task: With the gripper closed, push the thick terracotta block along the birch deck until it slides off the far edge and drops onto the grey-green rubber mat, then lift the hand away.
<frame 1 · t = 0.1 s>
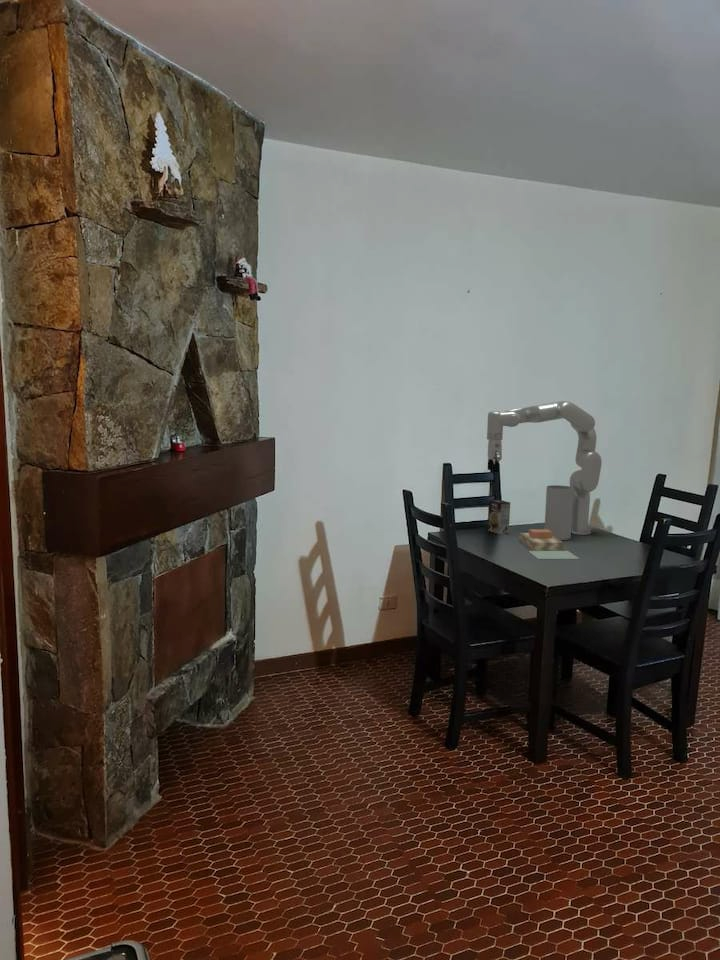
hand: (493, 471, 346), 31 cm above the table, tool pointing down, fingers open, 9 cm apart
deck: (540, 546, 323), on the table
cylinder vase: (557, 538, 341), on the table
coffee box: (498, 533, 351), on the table
mat: (553, 555, 306), on the table
thick terracotta block: (540, 533, 323), point 5 cm above the table, touching deck
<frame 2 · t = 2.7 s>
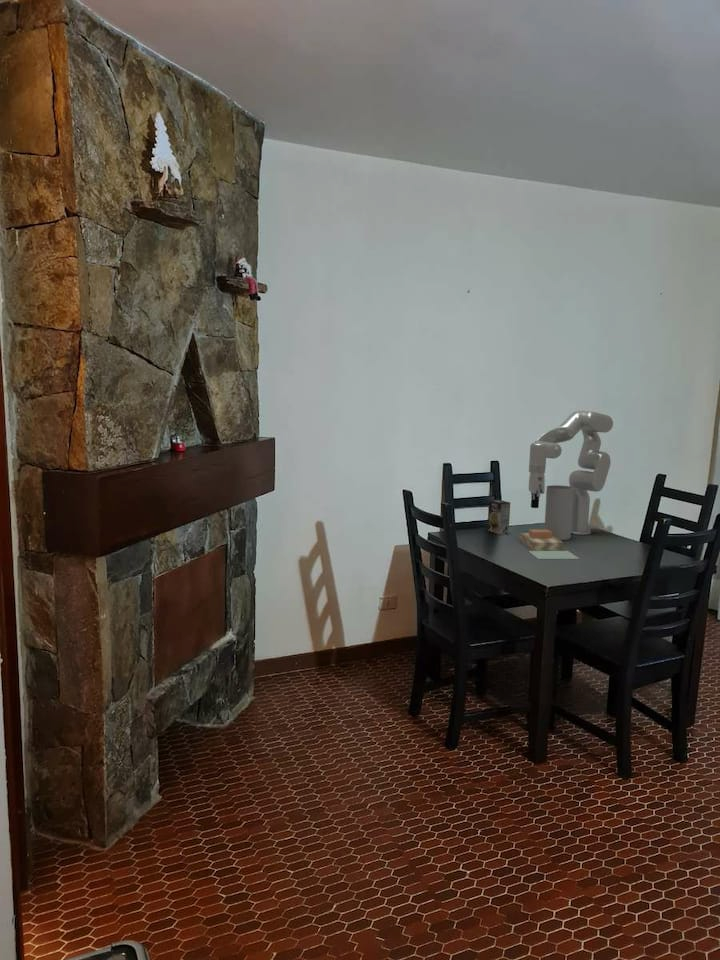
hand: (534, 507, 330), 16 cm above the table, tool pointing down, fingers closed
nothing on the table moved.
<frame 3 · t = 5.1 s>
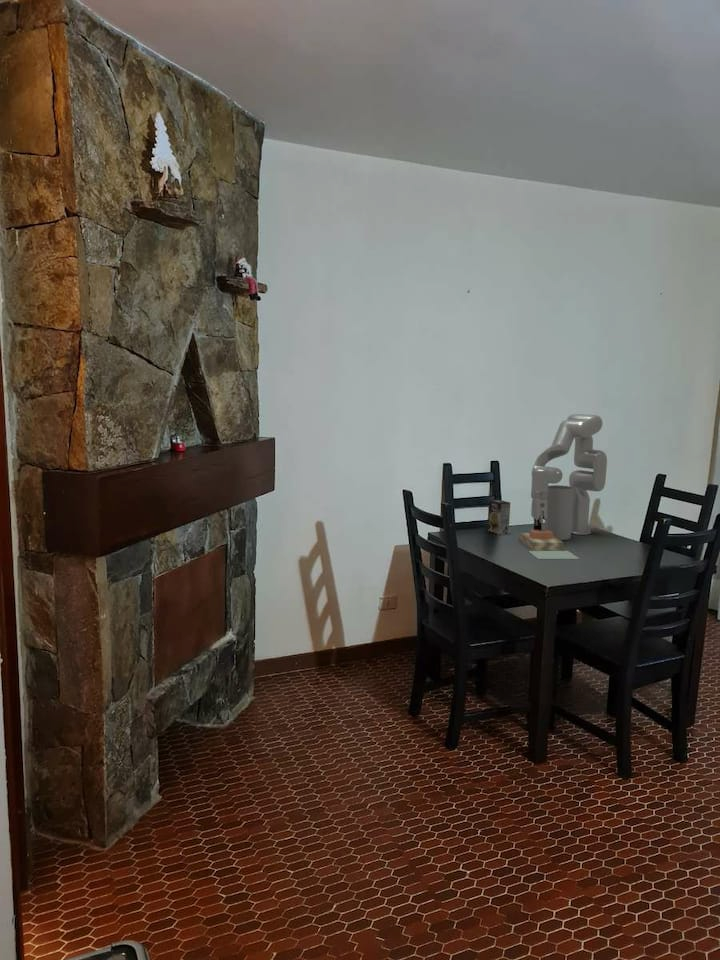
hand: (537, 533, 327), 5 cm above the table, tool pointing down, fingers closed
thick terracotta block: (540, 534, 322), point 6 cm above the table, touching gripper
everything else where it was.
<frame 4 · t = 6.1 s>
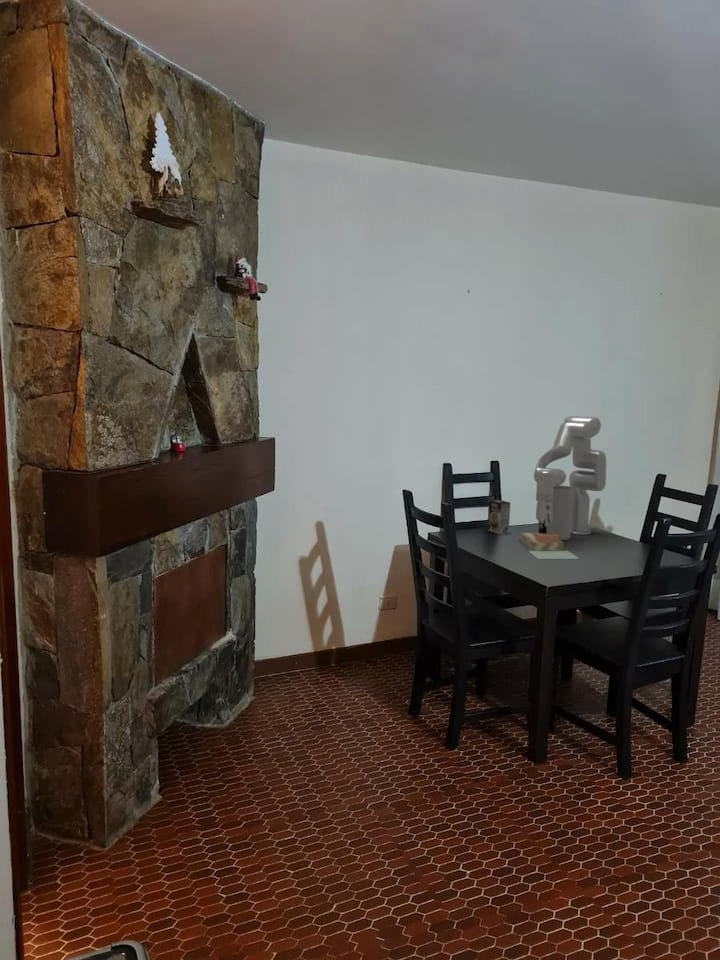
hand: (542, 536, 320), 5 cm above the table, tool pointing down, fingers closed
thick terracotta block: (547, 537, 315), point 5 cm above the table, touching deck, gripper
everything else where it was.
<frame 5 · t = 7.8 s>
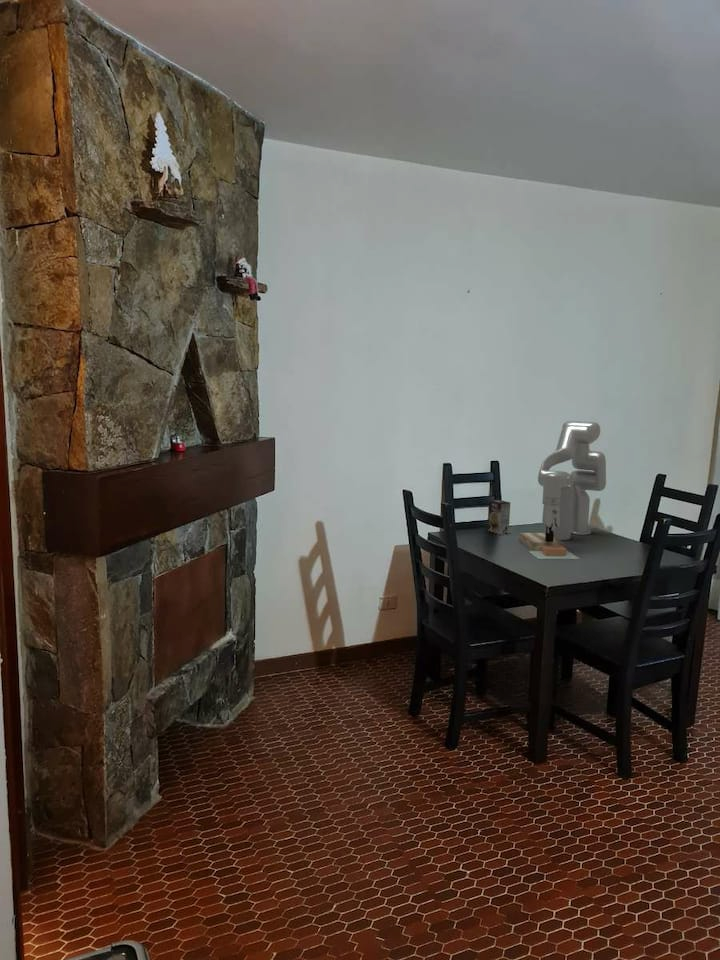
hand: (549, 541, 311), 5 cm above the table, tool pointing down, fingers closed
thick terracotta block: (553, 550, 307), point 2 cm above the table, tilted 180°, touching mat
everything else where it was.
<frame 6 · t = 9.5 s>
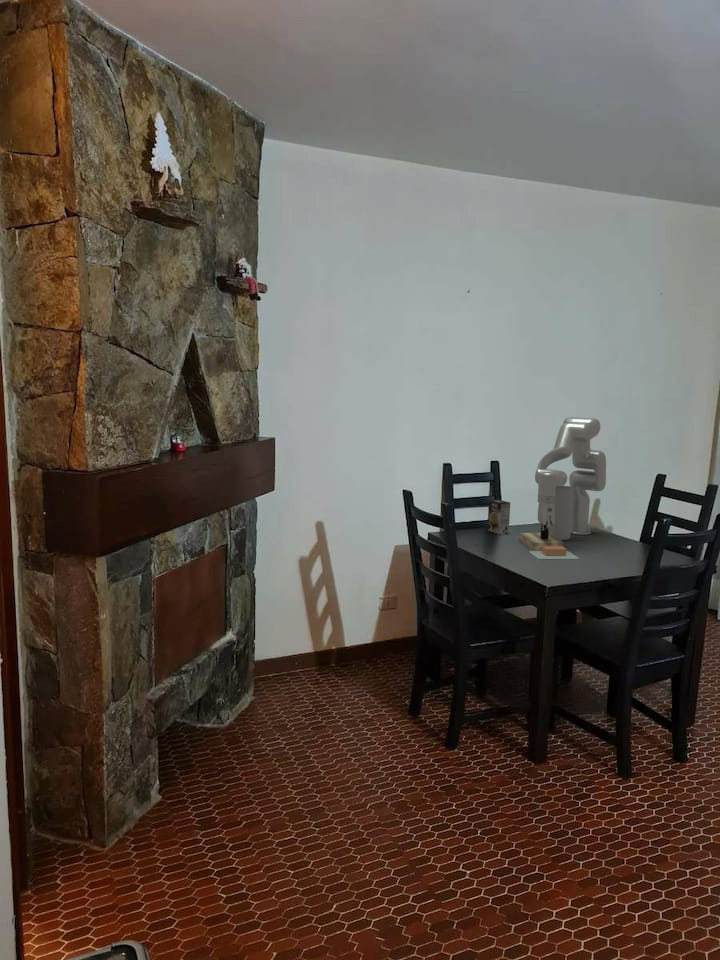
hand: (544, 538, 318), 4 cm above the table, tool pointing down, fingers closed
nothing on the table moved.
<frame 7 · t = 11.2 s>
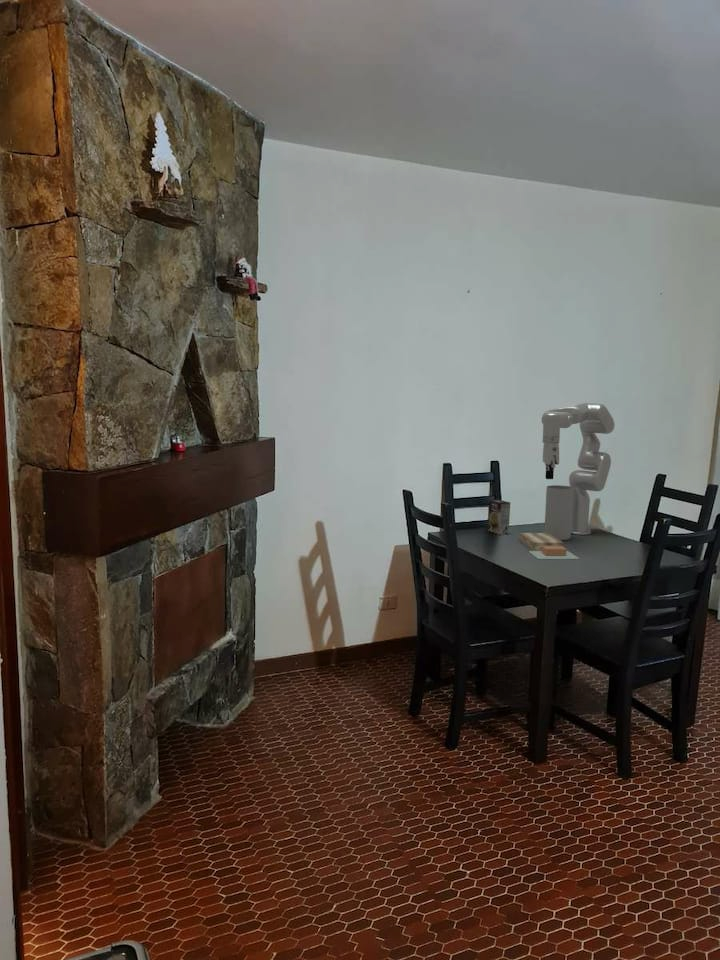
hand: (549, 478, 326), 30 cm above the table, tool pointing down, fingers closed
nothing on the table moved.
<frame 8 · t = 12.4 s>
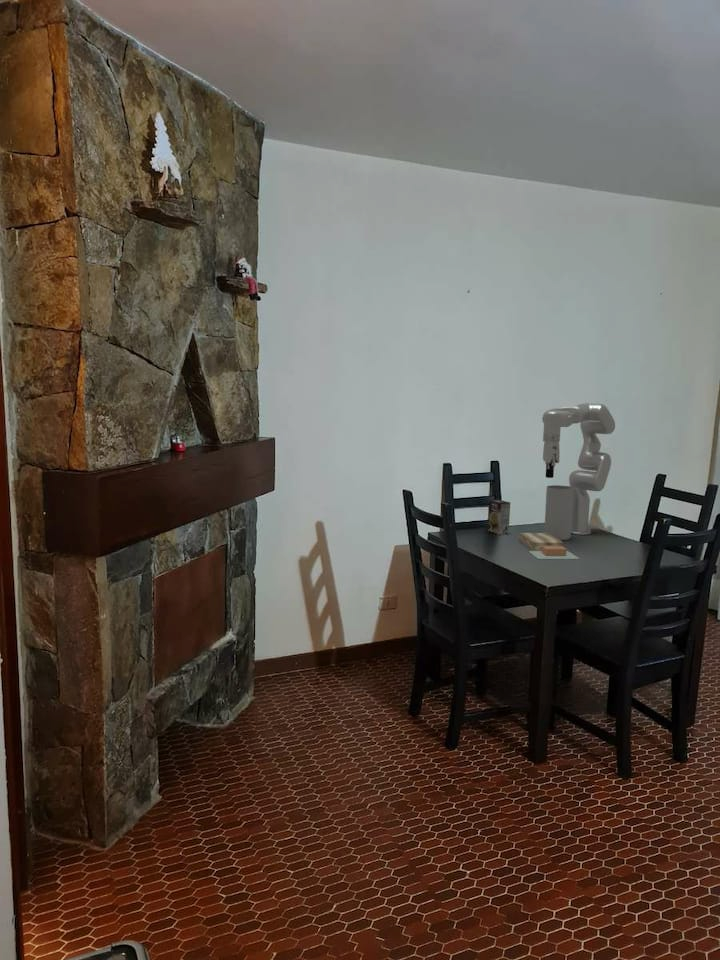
hand: (549, 477, 326), 31 cm above the table, tool pointing down, fingers closed
nothing on the table moved.
at the end: thick terracotta block point 1.8 cm above the table; thick terracotta block inside the target area on the mat (1.0 cm from its centre), point 1.8 cm above the mat's base; thick terracotta block touching mat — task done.
